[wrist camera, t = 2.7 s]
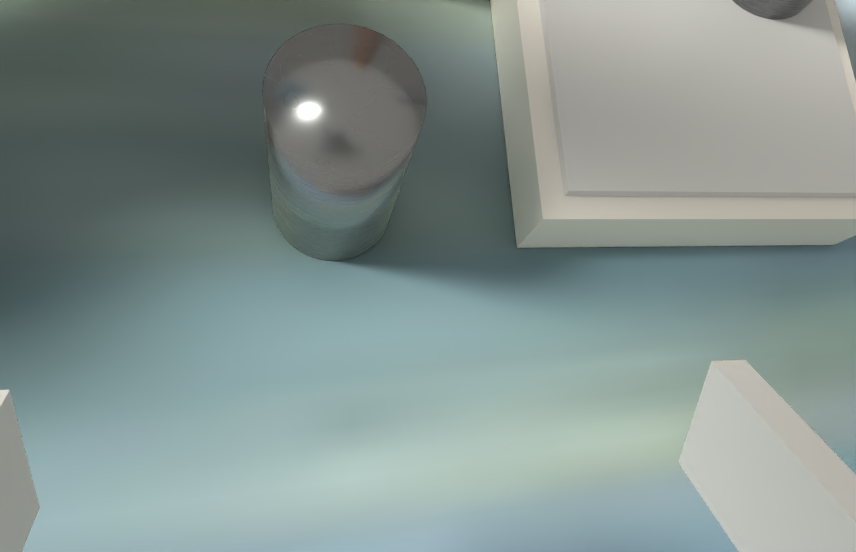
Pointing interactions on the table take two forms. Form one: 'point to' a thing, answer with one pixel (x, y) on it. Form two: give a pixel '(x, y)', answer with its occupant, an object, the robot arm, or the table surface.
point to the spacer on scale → (773, 7)
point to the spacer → (339, 136)
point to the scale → (676, 123)
